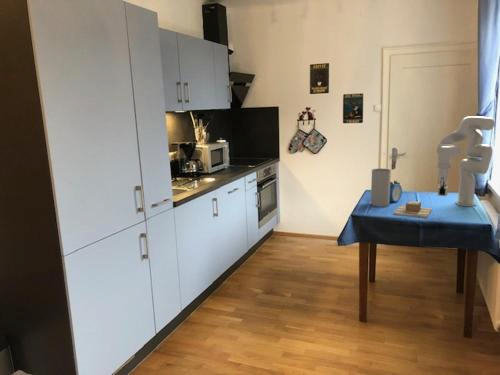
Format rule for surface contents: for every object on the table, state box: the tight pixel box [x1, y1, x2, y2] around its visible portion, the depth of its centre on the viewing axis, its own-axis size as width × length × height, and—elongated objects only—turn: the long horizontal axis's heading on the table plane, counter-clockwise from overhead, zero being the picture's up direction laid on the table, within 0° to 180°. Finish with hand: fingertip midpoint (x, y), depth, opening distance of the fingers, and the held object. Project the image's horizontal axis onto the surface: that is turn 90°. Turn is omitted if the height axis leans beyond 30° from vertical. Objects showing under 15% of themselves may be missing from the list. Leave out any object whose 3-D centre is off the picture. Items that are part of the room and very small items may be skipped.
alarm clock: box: [389, 180, 403, 203], centre depth 295 cm, size 13×6×15 cm, turn 128°
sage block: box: [437, 185, 449, 197], centre depth 261 cm, size 5×5×5 cm
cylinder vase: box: [370, 168, 392, 208], centre depth 286 cm, size 12×12×25 cm
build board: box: [393, 200, 433, 219], centre depth 267 cm, size 20×20×6 cm
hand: (442, 193), depth 261 cm, fingers closed on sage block, 4 cm apart
